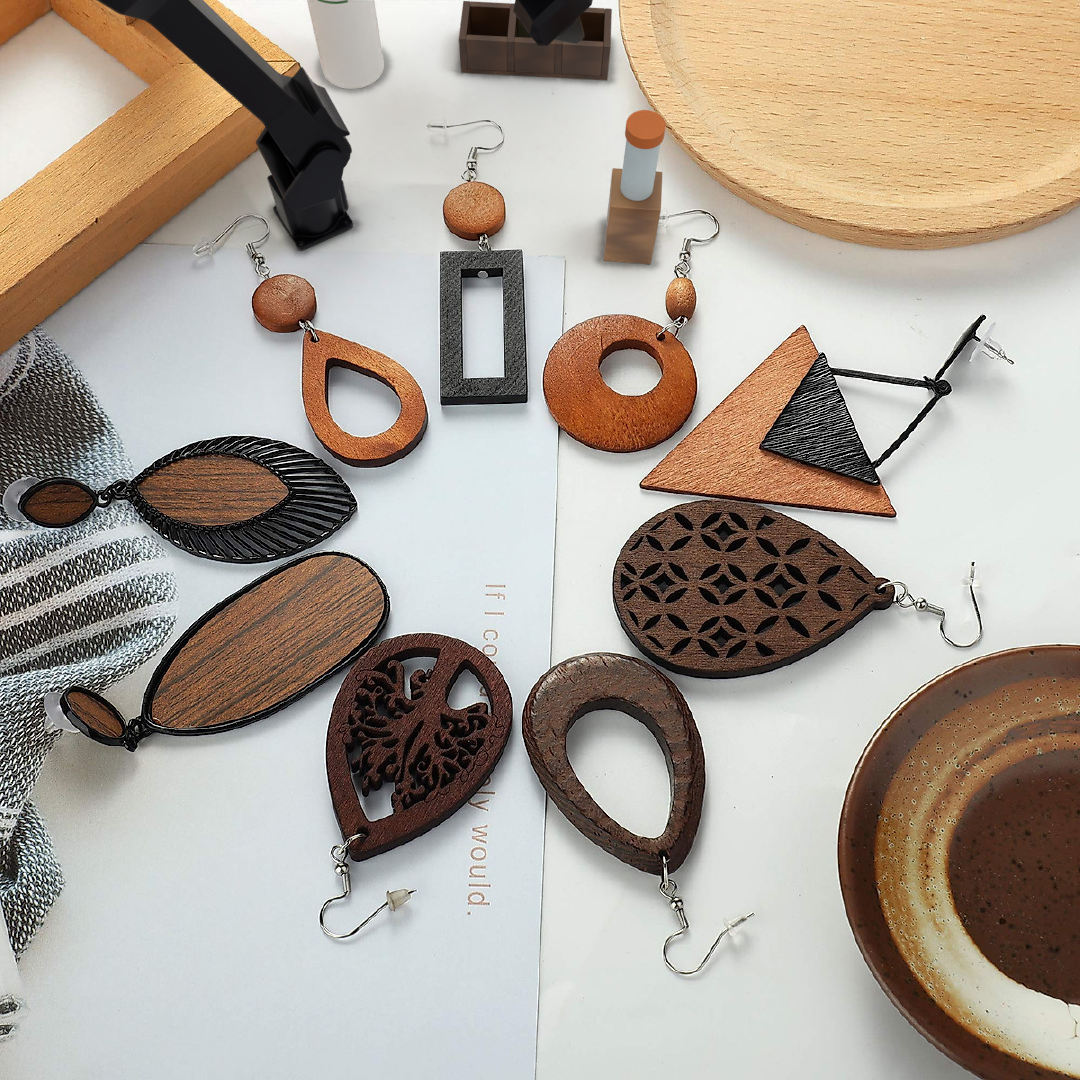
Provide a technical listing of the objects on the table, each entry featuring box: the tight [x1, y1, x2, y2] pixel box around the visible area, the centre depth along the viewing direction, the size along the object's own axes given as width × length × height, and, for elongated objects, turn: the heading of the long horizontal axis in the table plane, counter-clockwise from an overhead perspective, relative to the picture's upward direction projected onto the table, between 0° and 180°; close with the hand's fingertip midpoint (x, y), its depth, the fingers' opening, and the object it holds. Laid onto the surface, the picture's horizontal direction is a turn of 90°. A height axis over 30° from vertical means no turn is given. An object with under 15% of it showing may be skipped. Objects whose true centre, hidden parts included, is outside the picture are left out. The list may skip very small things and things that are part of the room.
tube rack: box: [458, 0, 613, 81], centre depth 112 cm, size 17×6×4 cm, turn 87°
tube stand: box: [603, 167, 663, 265], centre depth 99 cm, size 5×5×8 cm
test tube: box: [620, 109, 667, 201], centre depth 92 cm, size 4×4×8 cm
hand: (558, 9), depth 95 cm, fingers open, 9 cm apart
